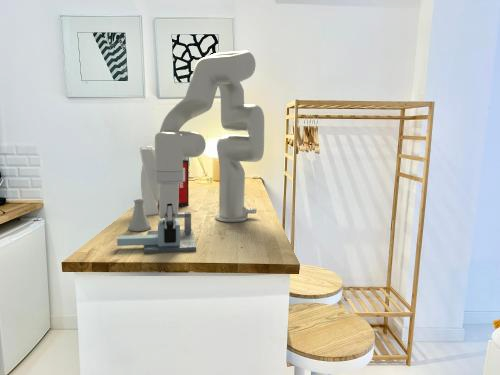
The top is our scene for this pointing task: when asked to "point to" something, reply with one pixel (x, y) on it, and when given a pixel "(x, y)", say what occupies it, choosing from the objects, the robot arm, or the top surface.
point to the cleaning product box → (184, 187)
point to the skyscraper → (149, 181)
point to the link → (151, 237)
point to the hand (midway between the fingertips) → (170, 238)
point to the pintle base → (185, 238)
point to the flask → (139, 218)
